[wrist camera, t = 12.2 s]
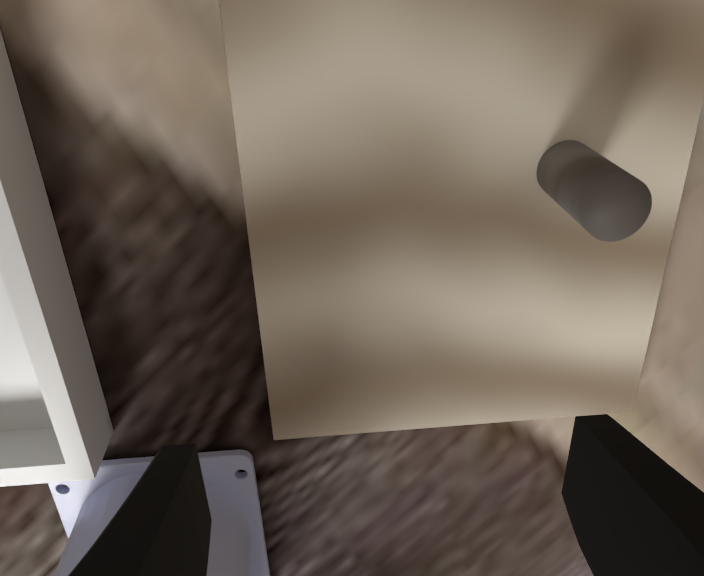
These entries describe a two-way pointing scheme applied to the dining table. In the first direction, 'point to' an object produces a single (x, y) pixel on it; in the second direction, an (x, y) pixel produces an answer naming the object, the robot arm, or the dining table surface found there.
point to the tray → (40, 327)
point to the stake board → (458, 201)
